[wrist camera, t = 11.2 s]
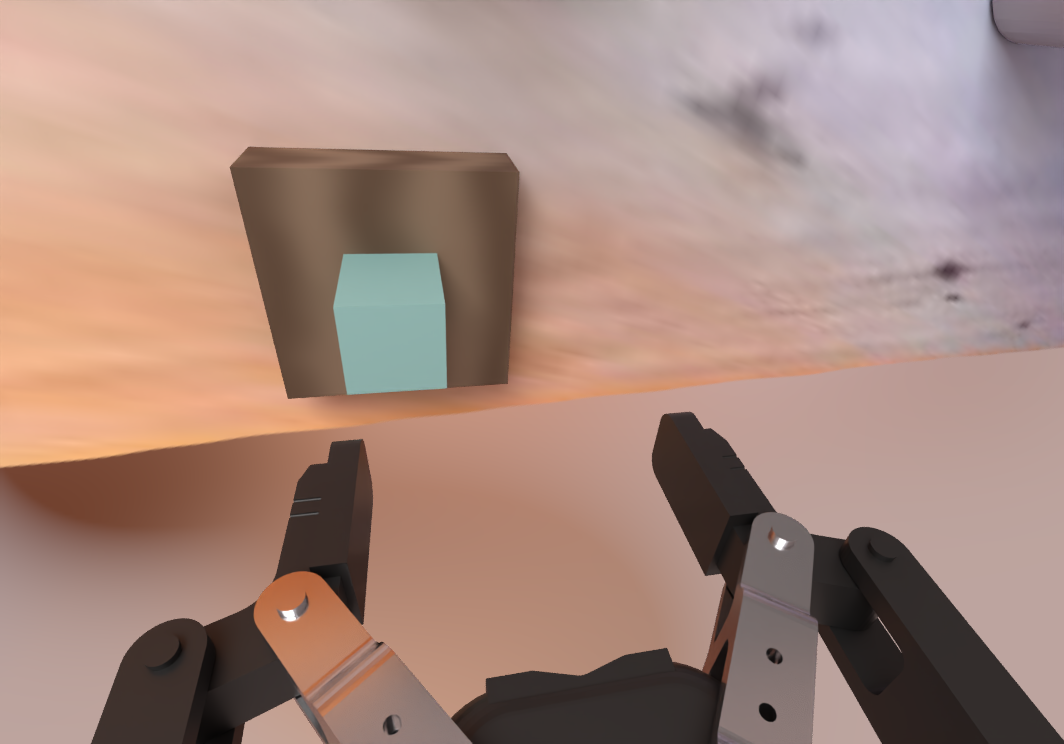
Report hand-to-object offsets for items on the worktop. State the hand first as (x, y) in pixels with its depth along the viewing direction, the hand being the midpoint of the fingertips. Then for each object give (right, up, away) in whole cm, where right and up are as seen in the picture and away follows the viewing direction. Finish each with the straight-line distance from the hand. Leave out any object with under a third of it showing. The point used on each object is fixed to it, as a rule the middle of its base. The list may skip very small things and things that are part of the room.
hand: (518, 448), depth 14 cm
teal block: (-8, +7, +16) cm, 19 cm away
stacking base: (-8, +9, +19) cm, 23 cm away
